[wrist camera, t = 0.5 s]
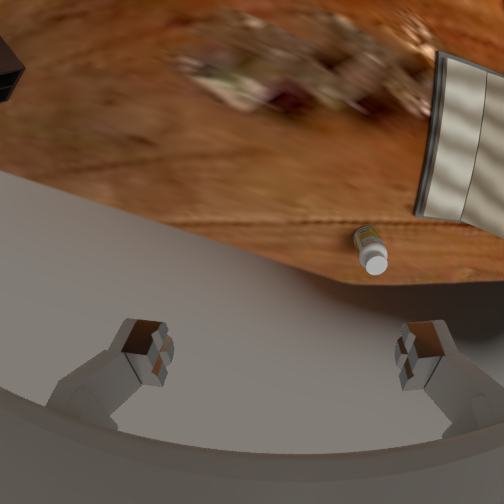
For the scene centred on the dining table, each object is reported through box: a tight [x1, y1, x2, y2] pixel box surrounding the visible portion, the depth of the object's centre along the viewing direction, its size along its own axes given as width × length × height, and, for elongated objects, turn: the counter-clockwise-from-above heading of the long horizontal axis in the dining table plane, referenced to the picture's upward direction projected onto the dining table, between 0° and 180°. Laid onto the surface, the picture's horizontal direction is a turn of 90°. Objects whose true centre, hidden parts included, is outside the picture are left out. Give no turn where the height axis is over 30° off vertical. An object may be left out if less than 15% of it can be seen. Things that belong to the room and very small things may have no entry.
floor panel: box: [414, 51, 504, 223], centre depth 44 cm, size 32×25×2 cm
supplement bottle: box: [353, 226, 387, 275], centre depth 55 cm, size 5×5×10 cm
